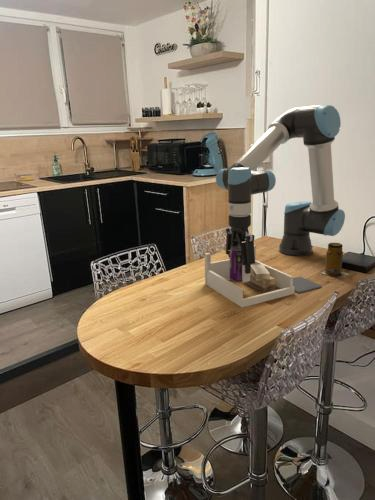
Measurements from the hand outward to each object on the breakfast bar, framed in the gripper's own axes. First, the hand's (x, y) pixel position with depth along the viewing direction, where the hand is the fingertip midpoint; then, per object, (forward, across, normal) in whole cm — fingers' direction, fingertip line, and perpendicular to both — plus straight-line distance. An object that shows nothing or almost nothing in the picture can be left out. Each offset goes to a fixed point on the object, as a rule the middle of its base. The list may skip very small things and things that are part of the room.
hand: (239, 277), depth 136 cm
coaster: (+5, +7, +22) cm, 23 cm away
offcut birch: (+1, 0, +9) cm, 9 cm away
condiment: (+6, +5, +41) cm, 42 cm away
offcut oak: (+3, 0, +8) cm, 9 cm away
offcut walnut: (+6, 0, +8) cm, 10 cm away
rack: (+5, 0, +3) cm, 6 cm away
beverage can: (+1, 0, 0) cm, 1 cm away
